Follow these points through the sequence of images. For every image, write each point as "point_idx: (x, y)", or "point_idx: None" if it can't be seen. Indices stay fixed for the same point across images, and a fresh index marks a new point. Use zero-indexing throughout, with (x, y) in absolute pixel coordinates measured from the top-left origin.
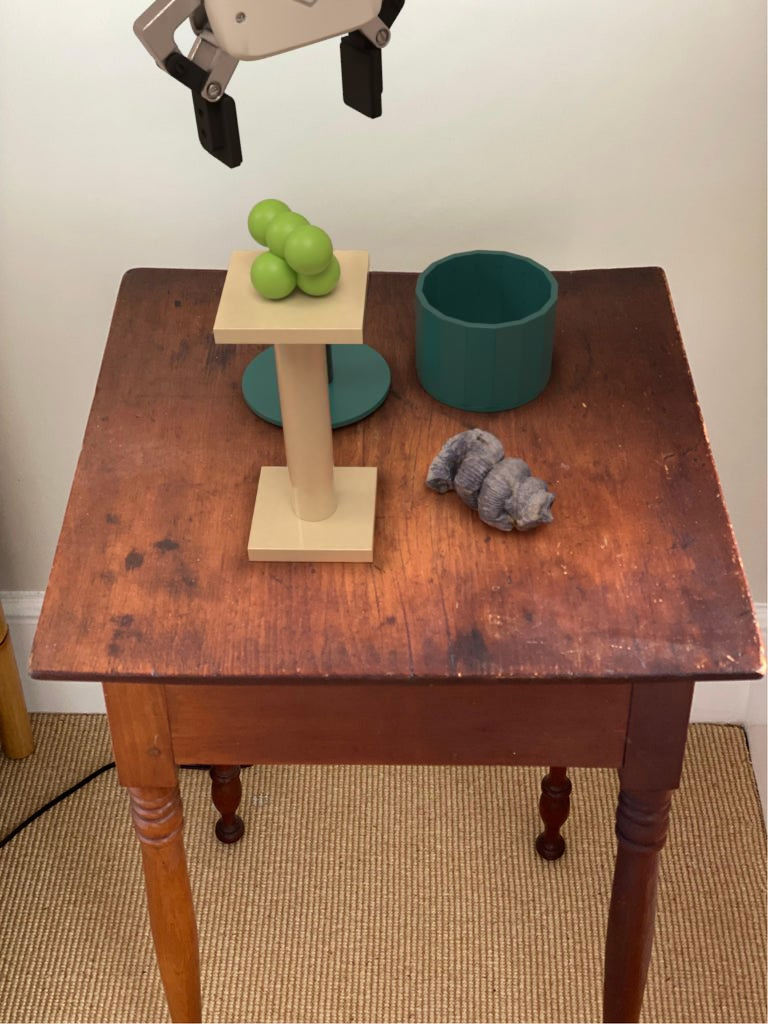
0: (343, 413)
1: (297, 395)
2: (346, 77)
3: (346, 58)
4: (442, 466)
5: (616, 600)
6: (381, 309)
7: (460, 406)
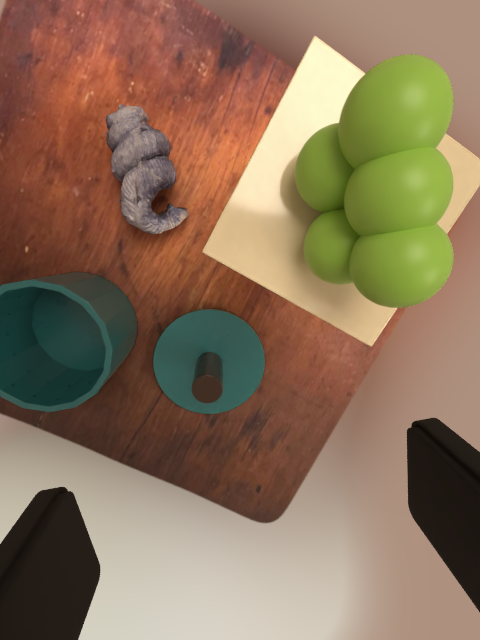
0: (208, 317)
1: None
2: (66, 636)
3: None
4: (170, 216)
5: (110, 33)
6: (126, 425)
7: (121, 291)
